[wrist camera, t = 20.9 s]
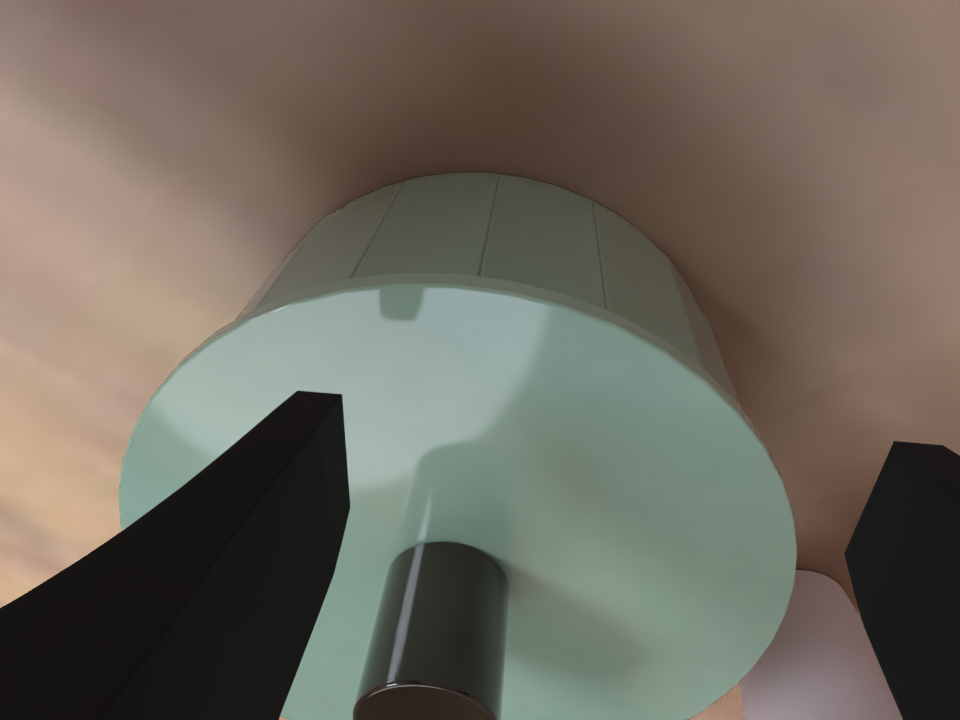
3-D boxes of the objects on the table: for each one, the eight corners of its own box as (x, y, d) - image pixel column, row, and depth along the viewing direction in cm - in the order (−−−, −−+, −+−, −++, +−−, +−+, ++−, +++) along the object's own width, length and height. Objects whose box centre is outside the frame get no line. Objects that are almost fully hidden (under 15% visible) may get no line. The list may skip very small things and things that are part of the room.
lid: (320, 754, 21) (272, 928, 18) (8, 372, 15) (-172, 525, 11) (823, 688, 18) (892, 890, 14) (708, 144, 11) (784, 261, 8)
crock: (208, 466, 24) (105, 634, 18) (338, 72, 17) (234, 153, 11) (570, 605, 26) (574, 793, 20) (818, 305, 19) (926, 468, 13)
